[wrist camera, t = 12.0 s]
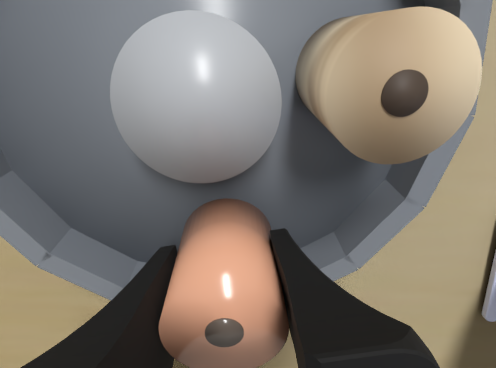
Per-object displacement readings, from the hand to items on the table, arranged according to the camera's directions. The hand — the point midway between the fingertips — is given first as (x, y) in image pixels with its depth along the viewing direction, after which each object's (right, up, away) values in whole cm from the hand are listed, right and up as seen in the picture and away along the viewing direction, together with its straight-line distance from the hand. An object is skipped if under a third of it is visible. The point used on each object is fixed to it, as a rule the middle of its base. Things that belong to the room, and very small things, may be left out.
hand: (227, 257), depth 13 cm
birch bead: (+5, +8, 0) cm, 9 cm away
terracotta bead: (0, +1, +1) cm, 1 cm away
